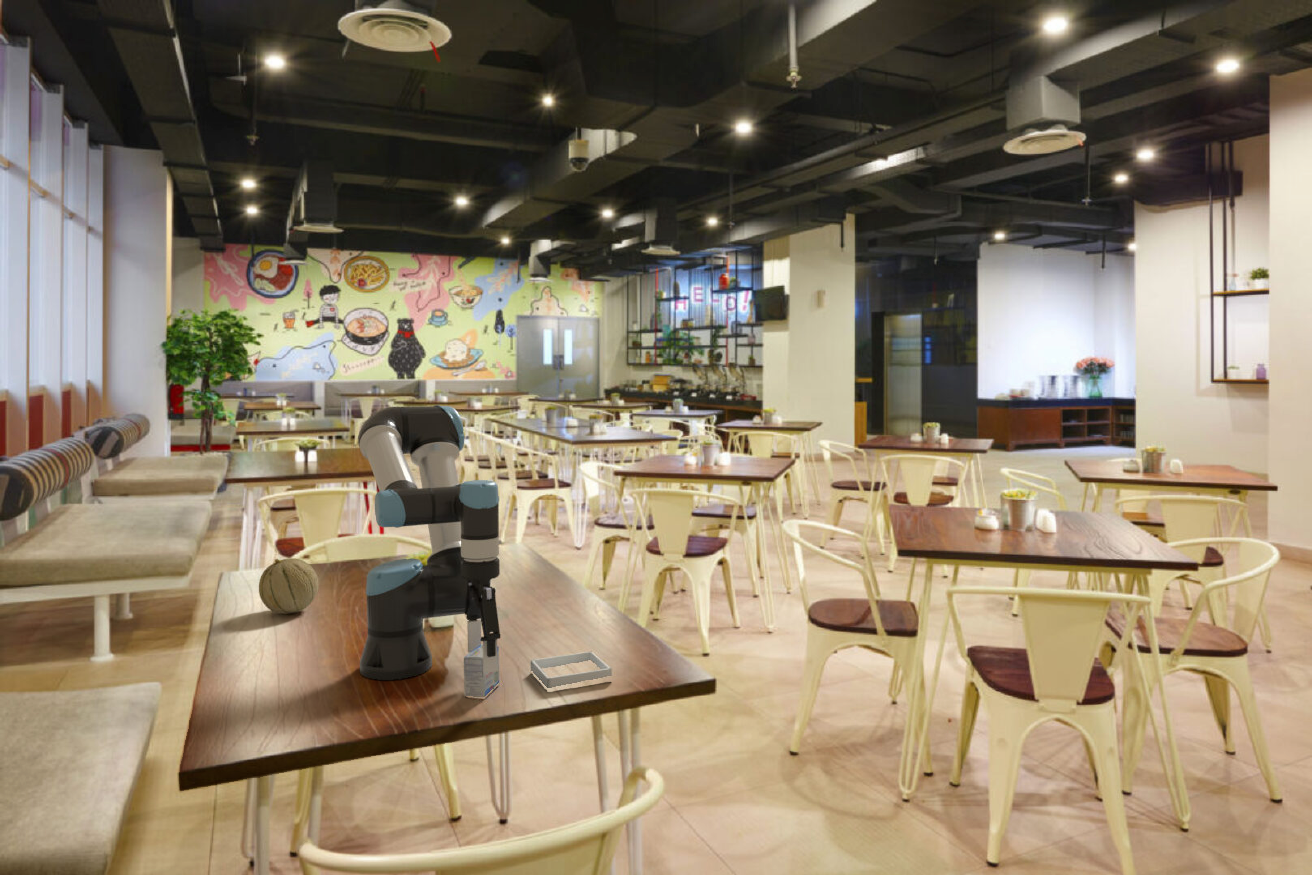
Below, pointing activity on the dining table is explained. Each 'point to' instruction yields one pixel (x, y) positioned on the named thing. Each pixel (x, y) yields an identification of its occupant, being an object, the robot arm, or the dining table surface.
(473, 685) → the medicine box
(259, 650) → the dining table surface
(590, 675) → the walled tray
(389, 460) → the robot arm
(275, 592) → the cantaloupe
